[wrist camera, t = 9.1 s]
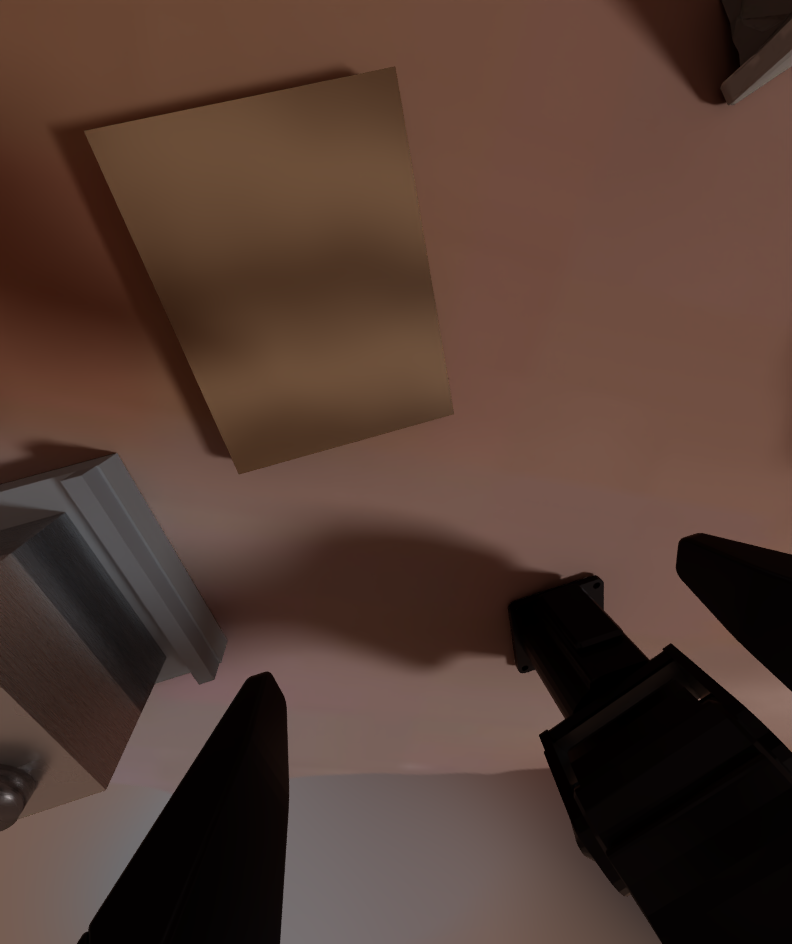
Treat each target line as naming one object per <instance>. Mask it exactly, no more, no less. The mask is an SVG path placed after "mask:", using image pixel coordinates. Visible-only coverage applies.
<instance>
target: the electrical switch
mask: <svg viewBox="0 0 792 944" xmlns="http://www.w3.org/2000/svg"><path fill="white" fill-rule="evenodd" d="M721 1H722V3H723V6H724V8H725V11H726V13H727V16H728V18H729V21H730V24H731V32H732V40H733V42H734V44H735V46H736V48H737V50H738V52H739V59H740V68H738V69H737V70H736V71H735V72H734V73H733V74H732V75H731V76H730V77H728V78H727V79H726V80H725V81H724V82H723V83H722V85H721V87H720V89H721V91H722V93H723V96H724V98H725V100H726V102H727V104H728V105H734V104H736V103H737V102H739V101H740V100H742V99H743V98H745V97H746V96H748V95H749V94H751V93H752V92H754V91H756V90H757V89H758V88H760V87H761V86H763V85H764V84H766V83H767V82H769V81H770V80H772V79H773V78H775V77H776V76H778V75H779V74H781V73H782V72H784V71H785V70H787V69H788V68H789V67H791V66H792V0H721Z"/></svg>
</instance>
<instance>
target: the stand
mask: <svg viewBox="0 0 792 944" xmlns="http://www.w3.org/2000/svg"><path fill="white" fill-rule="evenodd" d="M84 133H85V135H86V137H87V139H88V142H89V144H90V146H91V148H92V150H93V153H94V155H95V157H96V159H97V162H98V164H99V166H100V168H101V170H102V173H103V175H104V177H105V179H106V181H107V184H108V186H109V188H110V190H111V192H112V195H113V197H114V199H115V201H116V204H117V206H118V208H119V210H120V212H121V215H122V217H123V219H124V221H125V223H126V226H127V228H128V230H129V232H130V235H131V237H132V239H133V241H134V243H135V246H136V248H137V250H138V252H139V254H140V257H141V259H142V261H143V263H144V265H145V268H146V270H147V272H148V274H149V277H150V279H151V281H152V283H153V285H154V288H155V290H156V292H157V294H158V296H159V299H160V301H161V303H162V305H163V308H164V310H165V312H166V314H167V316H168V319H169V321H170V323H171V325H172V327H173V330H174V332H175V334H176V336H177V338H178V341H179V343H180V345H181V347H182V350H183V352H184V354H185V356H186V358H187V361H188V363H189V365H190V367H191V369H192V372H193V374H194V376H195V378H196V381H197V383H198V385H199V387H200V389H201V392H202V394H203V396H204V398H205V400H206V403H207V405H208V407H209V409H210V411H211V414H212V416H213V418H214V420H215V423H216V425H217V427H218V429H219V431H220V434H221V436H222V438H223V440H224V442H225V445H226V447H227V449H228V451H229V454H230V456H231V458H232V460H233V462H234V465H235V467H236V469H237V471H238V473H239V474H242V473H246V472H249V471H253V470H256V469H260V468H264V467H267V466H271V465H274V464H278V463H281V462H285V461H289V460H292V459H296V458H299V457H303V456H306V455H310V454H313V453H317V452H321V451H324V450H328V449H331V448H335V447H338V446H342V445H346V444H349V443H353V442H356V441H360V440H363V439H367V438H370V437H374V436H378V435H381V434H385V433H388V432H392V431H395V430H399V429H402V428H406V427H410V426H413V425H417V424H420V423H424V422H427V421H431V420H435V419H438V418H442V417H445V416H449V415H452V414H454V411H453V405H452V399H451V393H450V387H449V381H448V376H447V370H446V364H445V358H444V352H443V346H442V340H441V334H440V328H439V322H438V316H437V310H436V305H435V299H434V293H433V287H432V281H431V275H430V269H429V263H428V257H427V251H426V245H425V239H424V234H423V228H422V222H421V216H420V210H419V204H418V198H417V192H416V186H415V180H414V174H413V169H412V163H411V157H410V151H409V145H408V139H407V133H406V127H405V121H404V115H403V109H402V103H401V98H400V92H399V86H398V80H397V74H396V68H395V67H390V68H385V69H381V70H376V71H371V72H366V73H361V74H356V75H352V76H347V77H342V78H337V79H332V80H328V81H323V82H318V83H313V84H308V85H303V86H299V87H294V88H289V89H284V90H279V91H274V92H270V93H265V94H260V95H255V96H250V97H245V98H241V99H236V100H231V101H226V102H221V103H217V104H212V105H207V106H202V107H197V108H192V109H188V110H183V111H178V112H173V113H168V114H163V115H159V116H154V117H149V118H144V119H139V120H135V121H130V122H125V123H120V124H115V125H110V126H106V127H101V128H96V129H91V130H86V131H84Z"/></svg>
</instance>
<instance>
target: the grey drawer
mask: <svg viewBox="0 0 792 944" xmlns="http://www.w3.org/2000/svg"><path fill="white" fill-rule="evenodd" d="M166 658H167V657H166V655H165V654H164V652H163V651H162V650H161V648H160V647H159V645H158V644H157V642H156V641H155V640H154V638H153V637H152V635H151V634H150V632H149V631H148V630H147V628H146V627H145V625H144V624H143V622H142V621H141V620H140V618H139V617H138V615H137V614H136V612H135V611H134V610H133V608H132V607H131V605H130V604H129V602H128V601H127V599H126V598H125V597H124V595H123V594H122V592H121V591H120V589H119V588H118V587H117V585H116V584H115V582H114V581H113V579H112V578H111V577H110V575H109V574H108V572H107V571H106V569H105V568H104V567H103V565H102V564H101V562H100V561H99V559H98V558H97V556H96V555H95V554H94V552H93V551H92V549H91V548H90V546H89V545H88V544H87V542H86V541H85V539H84V538H83V536H82V535H81V534H80V532H79V531H78V529H77V528H76V526H75V525H74V524H73V522H72V521H71V519H70V518H69V516H68V515H67V514H66V512H64V513H60V514H57V515H53V516H50V517H46V518H42V519H39V520H35V521H31V522H28V523H24V524H20V525H17V526H13V527H10V528H6V529H2V530H0V831H3V830H5V829H7V828H9V827H10V826H12V825H13V824H14V823H15V822H16V821H17V819H20V818H24V817H27V816H30V815H33V814H36V813H39V812H42V811H44V810H48V809H51V808H54V807H56V806H60V805H63V804H66V803H69V802H72V801H75V800H78V799H81V798H84V797H87V796H90V795H93V794H96V793H99V792H102V791H105V790H106V789H107V787H108V785H109V783H110V780H111V778H112V776H113V774H114V772H115V769H116V767H117V765H118V763H119V761H120V759H121V756H122V754H123V752H124V750H125V748H126V745H127V743H128V741H129V739H130V737H131V734H132V732H133V730H134V728H135V726H136V724H137V721H138V719H139V717H140V715H141V713H142V710H143V708H144V706H145V704H146V702H147V699H148V697H149V695H150V693H151V691H152V689H153V686H154V684H155V682H156V680H157V678H158V675H159V673H160V671H161V669H162V667H163V665H164V662H165V660H166Z"/></svg>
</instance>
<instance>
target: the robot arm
mask: <svg viewBox="0 0 792 944" xmlns="http://www.w3.org/2000/svg"><path fill="white" fill-rule="evenodd" d="M676 571H677V573H678V575H679V577H680V578H681V580H682V581H683V582H684V583H685V584H686V585H687V586H688V587H689V589H690V590H691V591H692V592H693V593H694V594H695V595H696V596H697V597H698V598H699V599H700V601H701V602H702V603H703V604H704V605H705V606H706V607H707V608H708V609H709V610H710V611H711V613H712V614H713V615H714V616H715V617H716V618H717V619H718V620H719V621H720V622H721V624H722V625H723V626H724V627H725V628H726V629H727V630H728V631H729V632H730V633H731V634H732V635H733V636H734V637H735V638H736V640H737V641H738V642H739V643H741V644H742V645H743V646H744V647H745V648H746V649H747V650H748V651H749V652H750V653H751V654H752V655H753V656H754V657H755V658H756V659H757V660H758V661H760V662H761V663H762V664H763V665H764V666H765V667H766V668H767V669H768V670H769V671H770V672H771V673H772V674H773V675H775V676H776V677H777V678H778V679H779V680H780V681H781V682H782V683H783V684H784V685H785V686H786V687H787V688H789V689H790V690H791V691H792V555H791V554H787V553H783V552H779V551H775V550H770V549H766V548H762V547H758V546H754V545H750V544H746V543H741V542H737V541H733V540H729V539H725V538H721V537H716V536H712V535H708V534H704V533H696V534H693V535H690V536H687V537H684V538H682V539H681V540H680V541H679V544H678V551H677V560H676ZM517 608H518V609H517ZM508 612H509V620H510V627H511V634H512V642H513V649H514V656H515V663H516V667H517V669H518V671H519V672H520V673H526V672H529V671H532V670H536V671H537V673H538V675H539V676H540V678H541V680H542V681H543V683H544V685H545V686H546V688H547V690H548V691H549V693H550V695H551V696H552V698H553V700H554V701H555V703H556V705H557V706H558V708H559V710H560V711H561V713H562V714H563V716H564V718H565V720H563V721H562V722H560V723H559V724H557V725H556V726H555V727H553V728H552V729H550V730H549V731H548V730H545V731H544V732H542V733H541V734H540V735H539V737H540V739H541V742H542V744H543V747H544V749H545V751H544V754H545V757H546V759H547V762H548V764H549V767H550V769H551V772H552V775H553V777H554V780H555V782H556V785H557V787H558V789H559V792H560V795H561V797H562V800H563V802H564V805H565V807H566V810H567V812H568V815H569V818H570V820H571V824H572V828H573V831H574V835H575V839H576V842H577V844H578V847H579V848H580V850H581V851H582V853H583V854H584V855H585V856H586V857H588V858H590V859H592V860H593V861H595V862H596V863H597V864H598V865H599V867H600V868H601V870H602V871H603V873H604V874H605V875H606V877H607V878H608V879H609V881H610V882H611V883H612V885H613V886H614V887H615V888H616V889H617V890H618V892H620V893H621V894H622V895H623V896H629V895H632V897H633V898H634V900H635V901H636V903H637V905H638V906H639V907H640V909H641V911H642V912H643V914H644V916H645V917H646V919H647V920H648V922H649V923H650V925H651V927H652V928H653V930H654V931H655V933H656V934H657V936H658V938H659V939H660V941H661V942H662V944H792V752H791V751H790V750H789V749H788V748H787V747H786V746H785V745H784V744H783V743H782V742H781V741H780V740H779V739H778V738H777V737H776V736H775V735H774V734H773V733H772V732H771V731H770V730H769V729H768V728H767V727H766V726H765V725H764V724H763V723H762V722H761V721H760V720H759V719H758V718H757V717H756V716H755V715H754V714H752V713H751V712H750V711H749V710H748V709H747V708H746V707H745V706H744V705H743V704H741V703H740V702H739V701H738V700H737V699H736V698H735V697H733V696H732V695H731V694H730V693H729V692H728V691H726V690H725V689H724V688H723V687H722V686H720V685H719V684H718V683H717V682H716V681H715V680H713V679H712V678H711V677H710V676H709V675H708V674H706V673H705V672H704V671H703V670H702V669H701V668H699V667H698V666H697V665H696V664H695V663H694V662H692V661H691V660H690V659H689V658H688V657H687V656H685V655H684V654H683V653H682V652H681V651H679V650H678V649H677V648H676V647H675V646H674V645H672V644H671V643H670V644H669V645H667V646H666V647H665V648H663V652H661V653H660V654H658V655H657V656H655V657H654V658H652V659H651V660H649V659H648V658H647V657H646V656H645V655H644V653H643V652H642V651H641V650H640V649H639V648H638V647H637V646H636V645H635V644H634V643H633V642H632V641H631V640H630V639H629V638H628V637H627V636H626V635H625V633H624V632H623V631H622V629H621V628H620V627H619V626H618V625H617V624H616V623H615V622H614V621H613V620H612V618H611V617H610V616H609V615H608V614H607V613H606V612H605V611H604V582H603V581H602V580H601V579H600V578H599V577H598V576H596V575H595V576H591V577H587V578H584V579H581V580H578V581H575V582H572V583H569V584H566V585H563V586H560V587H557V588H553V589H550V590H547V591H544V592H541V593H538V594H535V595H532V596H529V597H526V598H522V599H519V600H516V601H514V602H512V603H511V604H510V605H509V606H508ZM699 698H701V700H699V701H698V699H699ZM288 811H289V767H288V734H287V707H286V701H285V698H284V695H283V693H282V691H281V690H280V688H279V686H278V684H277V682H276V681H275V679H274V677H273V675H272V674H271V673H270V672H263V673H260V674H257V675H254V676H251V677H249V678H248V679H247V680H246V681H245V683H244V684H243V686H242V687H241V689H240V690H239V692H238V693H237V695H236V697H235V698H234V700H233V701H232V703H231V704H230V706H229V708H228V709H227V711H226V712H225V714H224V715H223V717H222V718H221V720H220V722H219V723H218V725H217V726H216V728H215V729H214V731H213V732H212V734H211V736H210V737H209V739H208V740H207V742H206V743H205V745H204V747H203V748H202V750H201V751H200V753H199V754H198V756H197V757H196V759H195V761H194V762H193V764H192V765H191V767H190V768H189V770H188V771H187V773H186V775H185V776H184V778H183V779H182V781H181V782H180V784H179V786H178V787H177V789H176V790H175V792H174V793H173V795H172V796H171V798H170V800H169V801H168V803H167V804H166V806H165V807H164V809H163V811H162V812H161V814H160V815H159V817H158V818H157V820H156V821H155V823H154V824H153V826H152V828H151V829H150V831H149V832H148V834H147V835H146V837H145V839H144V840H143V842H142V843H141V845H140V847H139V848H138V849H137V851H136V853H135V854H134V856H133V858H132V859H131V860H130V862H129V863H128V865H127V867H126V868H125V870H124V871H123V873H122V874H121V876H120V878H119V879H118V881H117V882H116V884H115V886H114V887H113V888H112V890H111V892H110V893H109V895H108V896H107V898H106V899H105V901H104V903H103V904H102V906H101V907H100V909H99V910H98V912H97V913H96V915H95V917H94V918H93V920H92V921H91V923H90V925H89V929H88V932H85V933H84V934H83V935H82V936H81V938H80V940H79V941H78V943H77V944H280V935H281V919H282V904H283V889H284V874H285V858H286V843H287V826H288Z"/></svg>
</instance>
